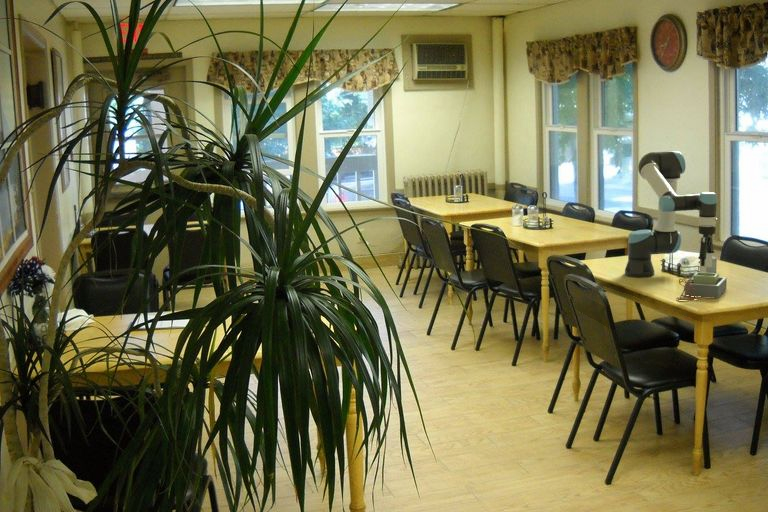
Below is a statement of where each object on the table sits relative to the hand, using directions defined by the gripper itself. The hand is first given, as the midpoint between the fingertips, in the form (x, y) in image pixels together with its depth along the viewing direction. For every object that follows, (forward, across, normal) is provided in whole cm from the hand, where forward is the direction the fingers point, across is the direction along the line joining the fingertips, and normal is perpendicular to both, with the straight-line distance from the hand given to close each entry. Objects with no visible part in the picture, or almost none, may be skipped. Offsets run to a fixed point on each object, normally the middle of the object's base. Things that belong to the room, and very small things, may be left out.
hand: (705, 269), depth 424 cm
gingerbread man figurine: (+11, -18, +4) cm, 22 cm away
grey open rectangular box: (+11, -1, 0) cm, 11 cm away
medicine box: (+12, +44, +8) cm, 47 cm away
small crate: (+10, 0, 0) cm, 10 cm away
